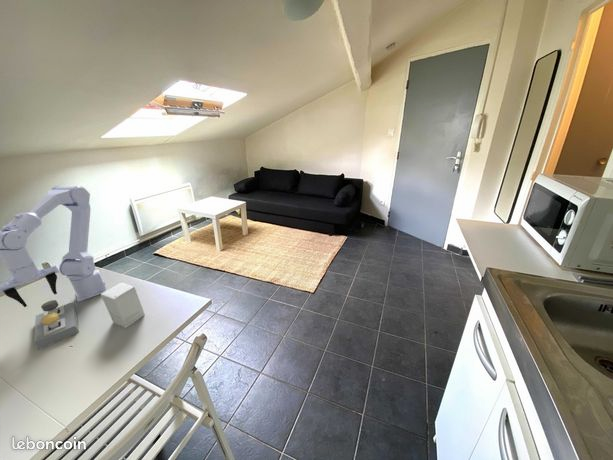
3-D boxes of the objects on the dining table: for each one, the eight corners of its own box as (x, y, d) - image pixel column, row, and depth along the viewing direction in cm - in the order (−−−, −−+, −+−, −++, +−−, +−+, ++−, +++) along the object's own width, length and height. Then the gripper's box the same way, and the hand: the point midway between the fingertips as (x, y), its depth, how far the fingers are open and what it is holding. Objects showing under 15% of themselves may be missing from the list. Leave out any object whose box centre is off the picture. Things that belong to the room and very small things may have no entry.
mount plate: (75, 308, 99) (71, 301, 97) (78, 332, 88) (74, 324, 86) (39, 322, 93) (34, 314, 91) (38, 349, 82) (33, 341, 80)
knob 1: (62, 309, 95) (56, 298, 92) (62, 315, 92) (56, 304, 90) (47, 314, 92) (41, 303, 90) (47, 320, 89) (41, 309, 87)
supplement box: (145, 314, 95) (135, 286, 90) (125, 328, 89) (113, 299, 84) (132, 309, 98) (121, 281, 92) (112, 322, 92) (99, 293, 86)
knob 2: (63, 321, 89) (57, 310, 87) (63, 328, 86) (57, 317, 84) (47, 328, 86) (40, 316, 84) (47, 334, 84) (40, 323, 82)
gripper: (47, 252, 90) (63, 284, 96) (-15, 272, 80) (8, 306, 86) (53, 258, 87) (70, 291, 92) (-11, 279, 76) (12, 315, 82)
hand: (40, 299), depth 89 cm, fingers open, 7 cm apart
